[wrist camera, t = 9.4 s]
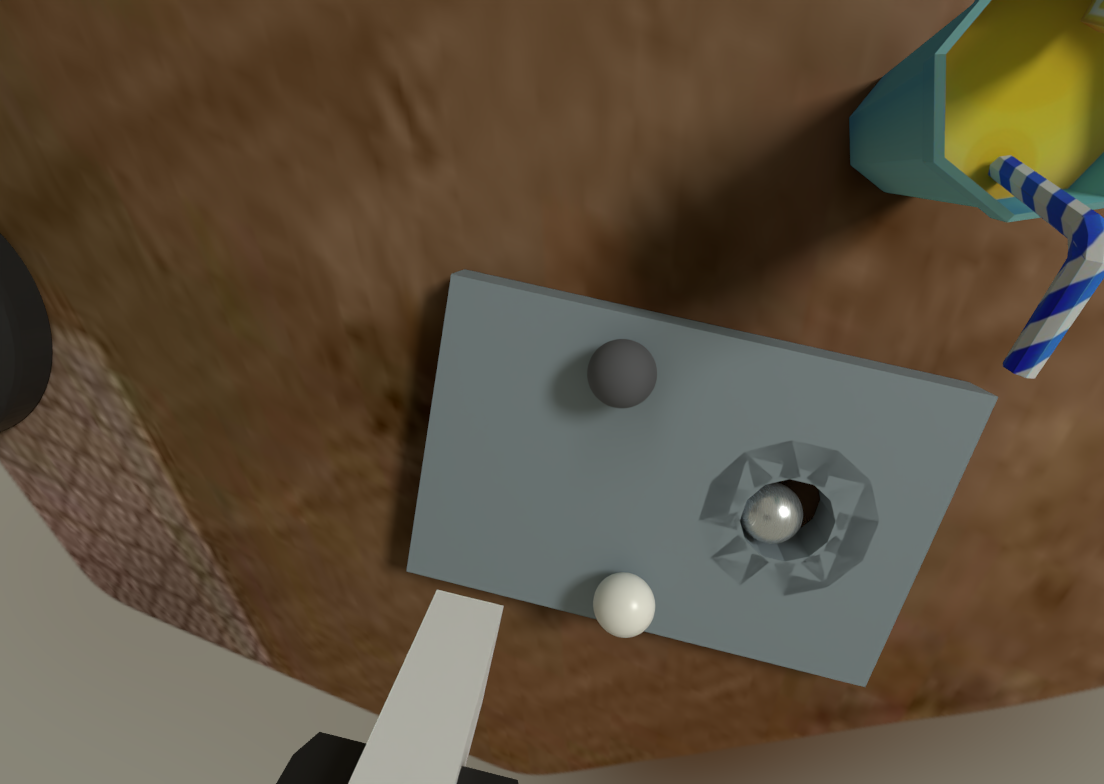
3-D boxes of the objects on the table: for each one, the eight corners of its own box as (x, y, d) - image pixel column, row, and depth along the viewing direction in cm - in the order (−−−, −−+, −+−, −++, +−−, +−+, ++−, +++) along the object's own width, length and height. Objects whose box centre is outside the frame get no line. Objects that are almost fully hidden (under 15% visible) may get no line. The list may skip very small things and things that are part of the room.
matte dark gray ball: (582, 388, 30) (577, 408, 27) (597, 326, 29) (593, 339, 26) (646, 403, 30) (648, 425, 27) (662, 340, 29) (667, 356, 26)
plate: (420, 547, 37) (406, 571, 34) (464, 269, 31) (451, 274, 29) (849, 654, 35) (865, 687, 33) (968, 382, 30) (998, 396, 28)
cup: (920, 320, 29) (1195, 423, 15) (764, 281, 30) (889, 345, 16) (1059, -1, 25) (1622, -277, 11) (875, -42, 26) (1189, -363, 11)
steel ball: (750, 555, 30) (803, 557, 31) (771, 499, 29) (825, 503, 30) (719, 520, 33) (768, 523, 34) (737, 468, 32) (787, 472, 33)
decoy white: (589, 603, 33) (585, 642, 30) (602, 554, 32) (599, 589, 29) (645, 617, 33) (647, 658, 30) (660, 568, 32) (664, 605, 29)
